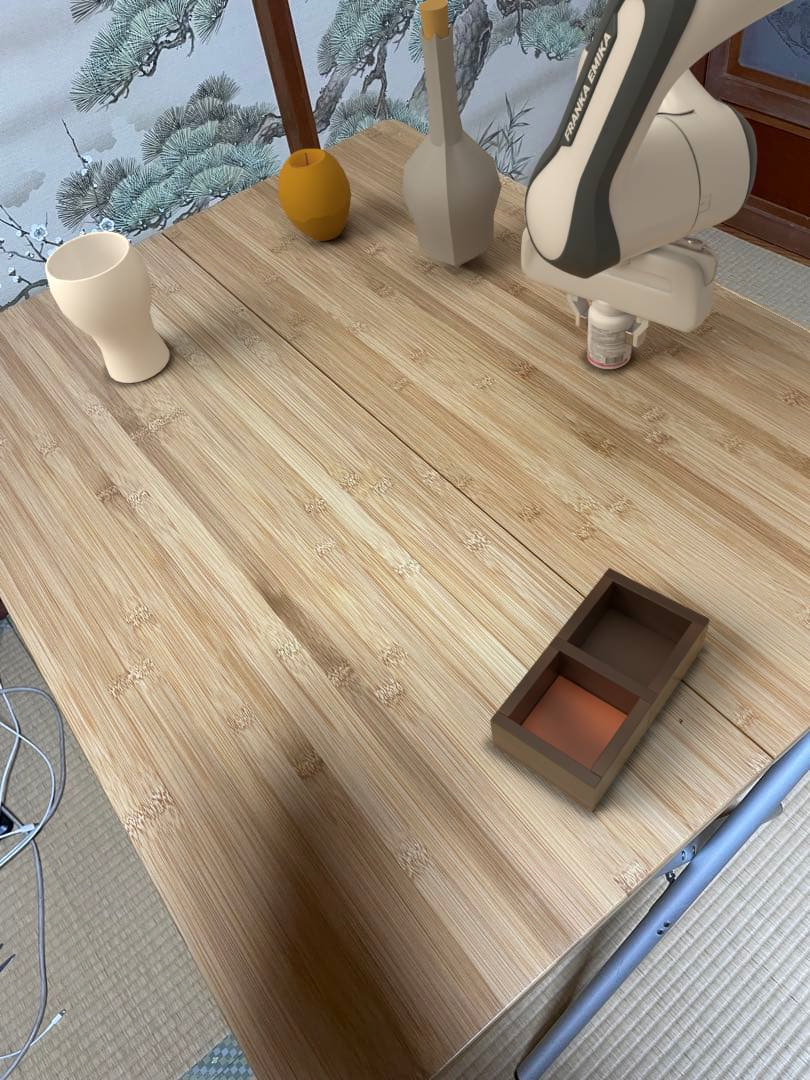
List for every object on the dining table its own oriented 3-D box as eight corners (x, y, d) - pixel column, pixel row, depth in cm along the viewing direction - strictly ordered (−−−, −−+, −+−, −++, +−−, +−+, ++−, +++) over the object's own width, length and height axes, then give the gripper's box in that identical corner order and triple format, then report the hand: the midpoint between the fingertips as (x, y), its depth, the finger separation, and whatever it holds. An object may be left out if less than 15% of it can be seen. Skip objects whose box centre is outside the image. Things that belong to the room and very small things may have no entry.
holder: (606, 598, 73) (609, 567, 70) (701, 648, 69) (710, 618, 65) (492, 745, 66) (489, 720, 63) (591, 812, 62) (594, 789, 58)
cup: (106, 403, 99) (47, 297, 87) (90, 354, 105) (33, 249, 94) (190, 371, 101) (144, 262, 89) (170, 324, 107) (123, 217, 95)
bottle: (401, 286, 105) (360, 27, 82) (433, 236, 111) (403, -19, 88) (485, 298, 102) (468, 30, 78) (514, 245, 108) (505, -19, 84)
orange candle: (275, 239, 116) (252, 157, 107) (328, 207, 119) (310, 125, 110) (319, 263, 111) (298, 180, 102) (373, 229, 114) (357, 145, 105)
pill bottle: (599, 337, 94) (602, 273, 88) (638, 349, 92) (644, 284, 86) (578, 363, 92) (580, 298, 86) (618, 375, 90) (623, 310, 83)
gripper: (737, 226, 75) (714, 348, 86) (545, 175, 85) (546, 290, 96) (703, 263, 73) (684, 383, 83) (510, 206, 82) (515, 321, 93)
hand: (609, 333), depth 90 cm, fingers closed on pill bottle, 4 cm apart
